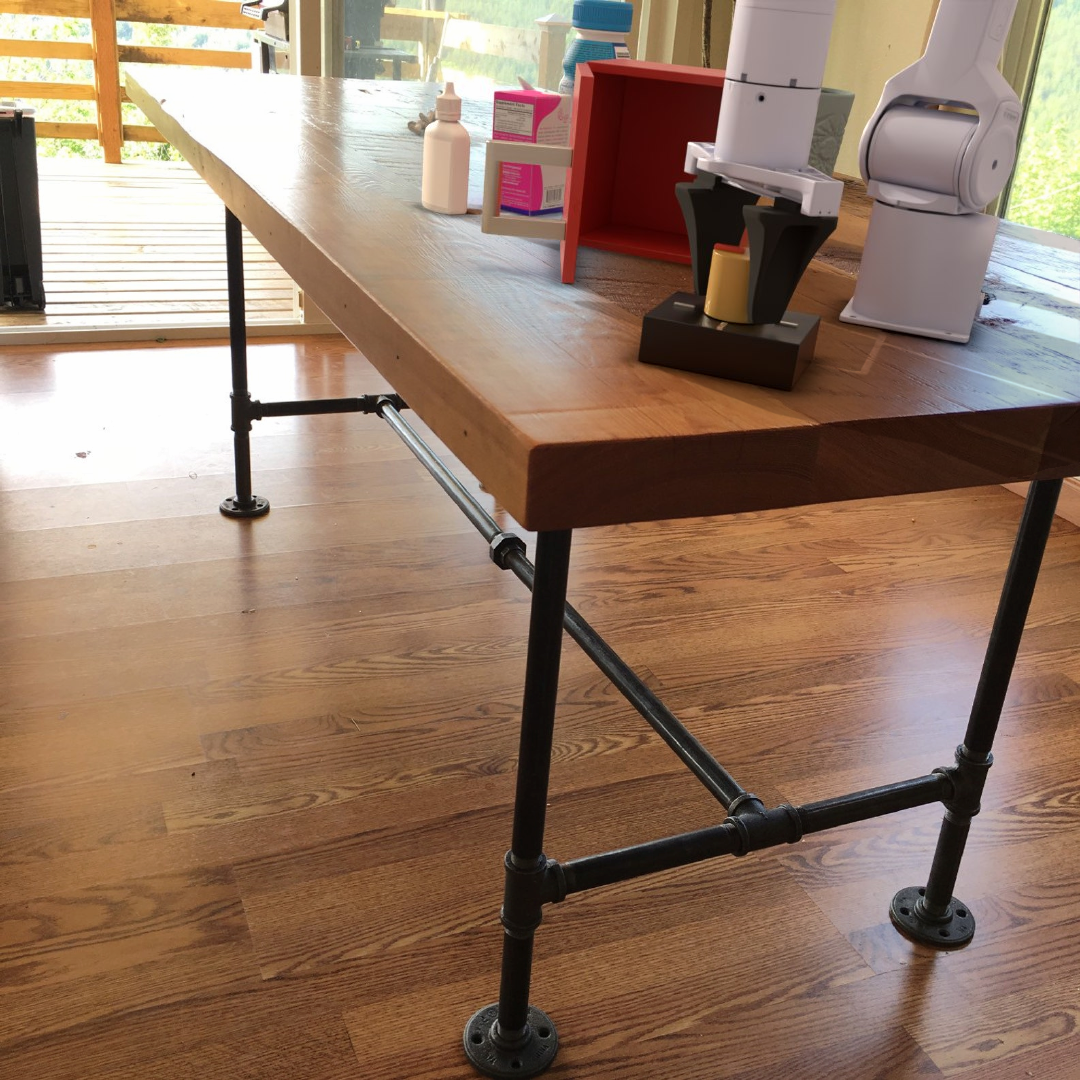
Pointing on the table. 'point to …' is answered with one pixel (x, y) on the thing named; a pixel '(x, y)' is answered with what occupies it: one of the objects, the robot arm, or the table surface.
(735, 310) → the knob
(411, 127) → the soldier figure
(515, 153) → the red door with handle
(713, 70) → the cabinet
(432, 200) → the eye dropper bottle
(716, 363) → the panel
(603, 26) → the beverage bottle
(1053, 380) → the table surface
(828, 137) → the grey green vase
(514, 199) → the supplement box
